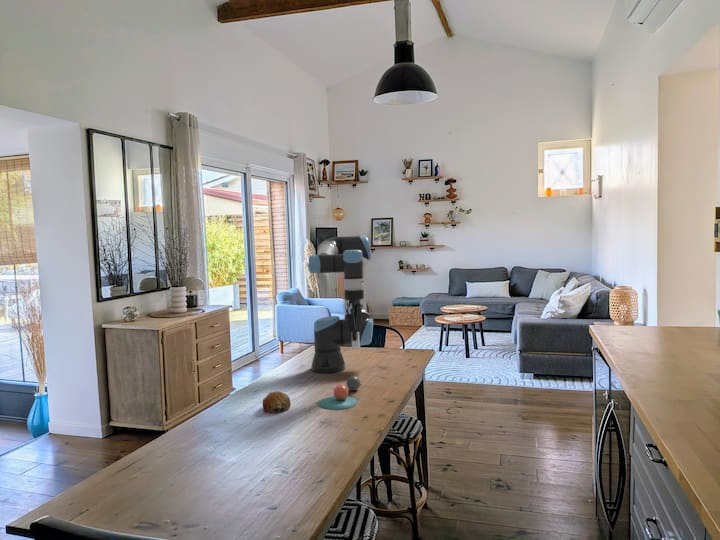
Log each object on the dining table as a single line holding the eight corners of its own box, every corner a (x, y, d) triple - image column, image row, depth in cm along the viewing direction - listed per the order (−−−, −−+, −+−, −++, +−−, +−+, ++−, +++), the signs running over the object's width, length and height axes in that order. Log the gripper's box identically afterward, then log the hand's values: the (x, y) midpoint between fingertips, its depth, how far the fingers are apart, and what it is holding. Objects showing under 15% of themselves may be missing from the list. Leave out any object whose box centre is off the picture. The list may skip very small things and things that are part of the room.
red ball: (334, 386, 199) (330, 399, 195) (337, 380, 195) (333, 393, 191) (347, 391, 199) (344, 404, 196) (351, 385, 195) (348, 398, 191)
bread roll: (292, 416, 191) (293, 393, 194) (286, 413, 181) (287, 389, 184) (265, 415, 192) (267, 393, 195) (257, 412, 182) (259, 389, 185)
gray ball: (345, 375, 208) (343, 389, 208) (349, 376, 203) (347, 390, 202) (358, 376, 210) (357, 390, 209) (362, 377, 205) (361, 391, 204)
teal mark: (310, 402, 193) (310, 402, 193) (341, 394, 202) (341, 393, 202) (333, 412, 182) (333, 411, 182) (365, 403, 191) (365, 402, 191)
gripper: (357, 291, 201) (359, 352, 203) (368, 287, 214) (370, 345, 215) (339, 291, 204) (341, 351, 206) (350, 287, 216) (352, 344, 218)
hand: (355, 348), depth 210 cm, fingers closed
